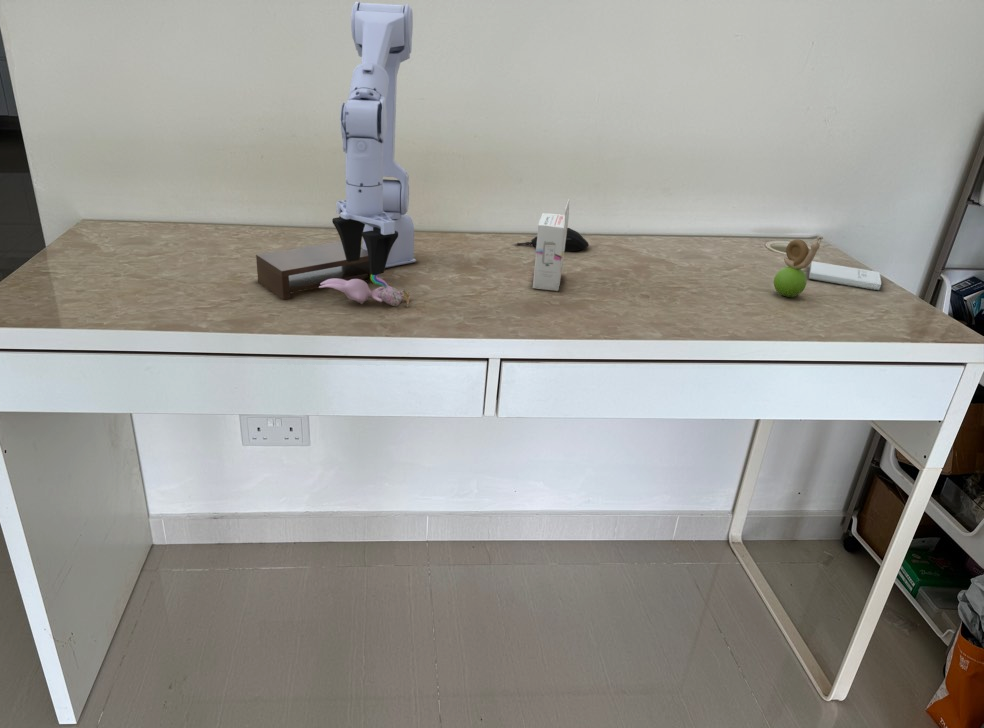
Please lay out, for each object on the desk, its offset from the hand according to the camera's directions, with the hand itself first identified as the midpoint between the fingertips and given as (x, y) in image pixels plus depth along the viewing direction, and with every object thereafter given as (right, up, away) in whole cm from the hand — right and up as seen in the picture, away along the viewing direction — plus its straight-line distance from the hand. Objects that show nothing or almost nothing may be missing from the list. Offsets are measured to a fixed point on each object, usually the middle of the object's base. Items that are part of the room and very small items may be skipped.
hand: (364, 267), depth 126 cm
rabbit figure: (0, -6, +3) cm, 6 cm away
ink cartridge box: (+32, 0, +16) cm, 36 cm away
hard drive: (+91, +2, +25) cm, 94 cm away
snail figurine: (+76, -3, +15) cm, 77 cm away
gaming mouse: (+36, +11, +36) cm, 52 cm away
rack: (-10, -1, +11) cm, 15 cm away
